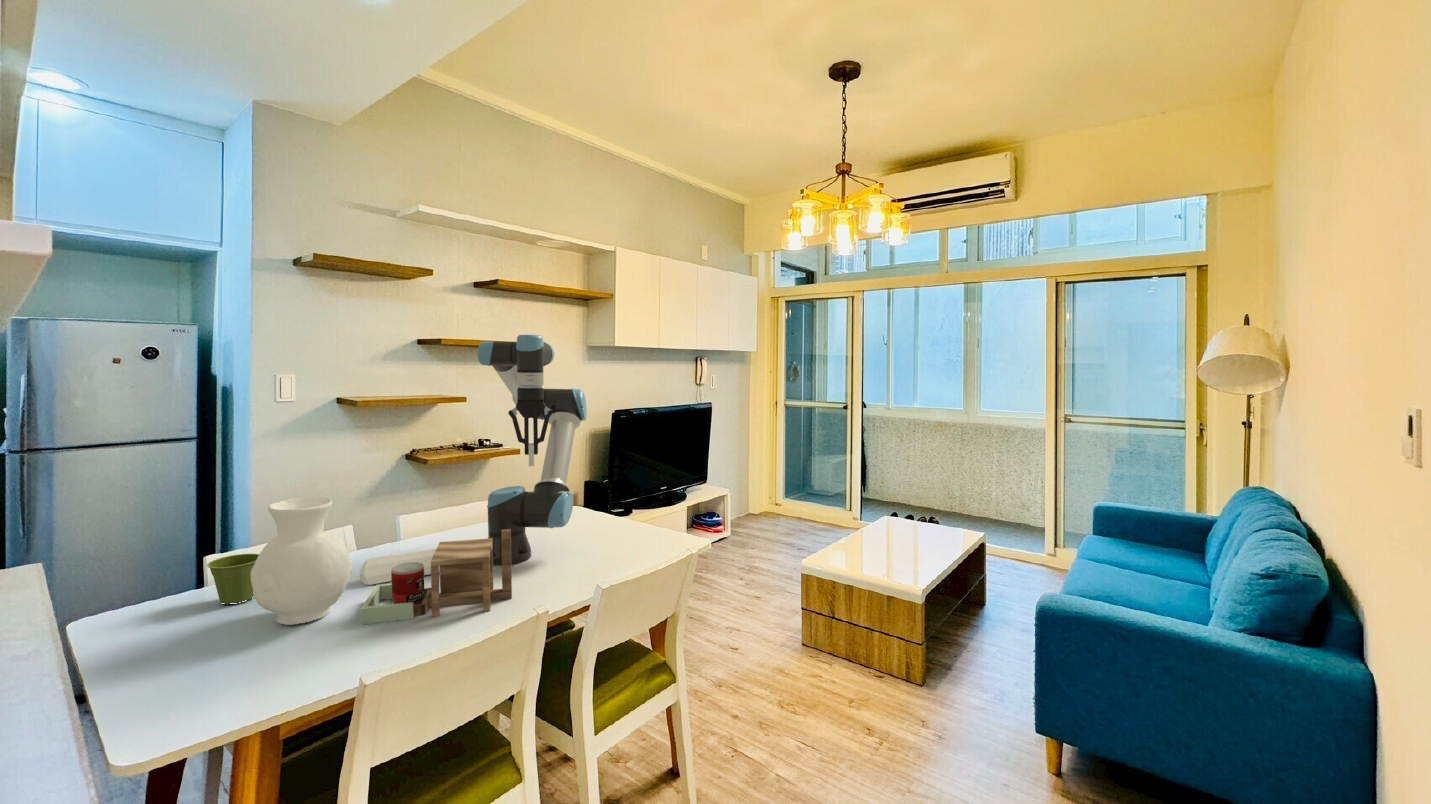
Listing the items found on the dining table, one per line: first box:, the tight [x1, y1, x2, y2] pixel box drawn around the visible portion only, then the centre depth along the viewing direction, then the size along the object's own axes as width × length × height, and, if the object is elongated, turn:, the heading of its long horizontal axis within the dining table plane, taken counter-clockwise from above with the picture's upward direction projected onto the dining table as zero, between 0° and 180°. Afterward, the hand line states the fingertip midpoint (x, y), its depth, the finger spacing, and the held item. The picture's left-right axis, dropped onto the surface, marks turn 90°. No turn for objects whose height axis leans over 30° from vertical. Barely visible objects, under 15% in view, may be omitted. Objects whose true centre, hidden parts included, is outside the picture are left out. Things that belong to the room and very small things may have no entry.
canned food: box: [391, 562, 425, 605], centre depth 162 cm, size 8×8×11 cm
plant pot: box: [206, 553, 260, 605], centre depth 165 cm, size 12×12×11 cm
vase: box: [251, 496, 352, 626], centre depth 154 cm, size 19×21×30 cm
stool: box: [430, 537, 494, 618], centre depth 166 cm, size 16×14×15 cm
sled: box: [413, 529, 513, 616], centre depth 165 cm, size 12×30×19 cm, turn 107°
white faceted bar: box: [359, 548, 440, 586], centre depth 185 cm, size 7×7×24 cm
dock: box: [359, 582, 415, 625], centre depth 161 cm, size 16×12×4 cm
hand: (531, 465), depth 182 cm, fingers closed
